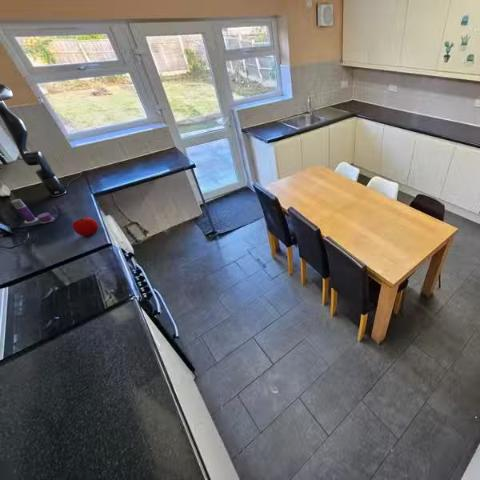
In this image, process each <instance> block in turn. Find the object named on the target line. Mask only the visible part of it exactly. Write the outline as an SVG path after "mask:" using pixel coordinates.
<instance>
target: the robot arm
mask: <svg viewBox="0 0 480 480" xmlns="http://www.w3.org/2000/svg"><path fill="white" fill-rule="evenodd" d="M13 97H14V95H13V92H12V90H11V88H9V86H7V85H5V84H3V83H0V119H2V122H3V124H4V125H5V128H6V130H7V131H8V133H9V134H10V136H11V138H12V140H13V141H14V144H15V145H16V148H17V150H18V152H19V155H20V156H21V159H22V161H23V162H24V163H25V164H26V165H27V166H28V167H29V166H30V167H33V166H40V167H39V168H38V169H36V170H35V174H36V176H37V177H38V179H39V180H40V181H41V183H42V184H43V186H44V187H45V188H46V190H47V191H48V193H49V194H50V196H51V198H52V197H53V198H56V197H61V196H63V195H66V193H67V190H66V189H65V188H68V187H69V185H70V183H72V182H74V181H75V180H77V179H79V178H80V177H81V176H82V174H83V172H80V173H79V175H78V176H77V177H75V178H73V179H72V180H70V181H69V182H67V184H66V185H63V184H62V182H61V181H60V180H59V178H58V177H57V175H56V173H54V170H53V169H52V167H51V164H50V163H49V161H48V159H47V157H46V155H44V153H42V152H41V151H38V150H37V151H30V150H29V149H28V146H27V141H28V138H29V131H28V128H27V126H26V125H25V123H24V121H23V120H22V119H21V118H20V117H18V116H17V115H16V114H15V113H13V112H12V110H11V109H9V108H8V106H7V105H6V103H5V101H8V100H10V99H11V100H12V98H13ZM5 157H6V155H5V154H4V152H3V151H2V150H1V149H0V163H2V165H4V166H5V165H8V161H7V160H6V158H5ZM0 170H2V167H1V166H0Z"/></svg>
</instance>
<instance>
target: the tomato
mask: <svg viewBox="0 0 480 480" xmlns="http://www.w3.org/2000/svg"><path fill="white" fill-rule="evenodd" d="M72 229H73V231H74V232H75V233H76V234H77V235H79V236H82V237H90V236H92V235H94V234H95V233H97V232H98V229H99V224H98V221H97V220H95V219H93V218H92V217H89V216H86V217H84V216H82V217H80V218H79V219H75V220H74V221H73V222H72Z"/></svg>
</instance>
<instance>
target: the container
mask: <svg viewBox="0 0 480 480" xmlns="http://www.w3.org/2000/svg"><path fill="white" fill-rule="evenodd" d="M10 202H11V204H12V205H13V206H14V208H15V209H16V210H17V211H18V213H19V214H20V215H21V217H23V219H24V220H26V221H27V222H32V221H34V220H36V216H35V215H34V214H33V213H32V211H31V210H30V209H29V208H28V206H27V205H26V203H24V202H23V201H22V199H21V198H15V199H12V200H11V201H10Z"/></svg>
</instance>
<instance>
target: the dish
mask: <svg viewBox="0 0 480 480" xmlns="http://www.w3.org/2000/svg"><path fill="white" fill-rule="evenodd" d="M51 215H52V214H51V213H50V212H42V213H40V214H38V215H37V217H38V218H39V220H40V221H41V222H42V223H44V224H46V223H45V222H49V221H51V220H52V219H53V218H52V216H51Z"/></svg>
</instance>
